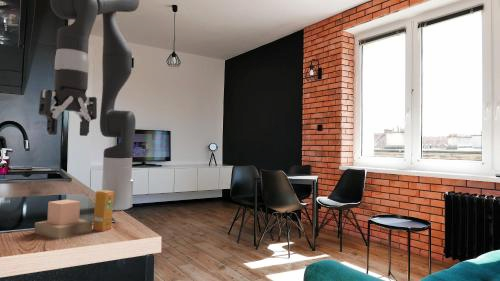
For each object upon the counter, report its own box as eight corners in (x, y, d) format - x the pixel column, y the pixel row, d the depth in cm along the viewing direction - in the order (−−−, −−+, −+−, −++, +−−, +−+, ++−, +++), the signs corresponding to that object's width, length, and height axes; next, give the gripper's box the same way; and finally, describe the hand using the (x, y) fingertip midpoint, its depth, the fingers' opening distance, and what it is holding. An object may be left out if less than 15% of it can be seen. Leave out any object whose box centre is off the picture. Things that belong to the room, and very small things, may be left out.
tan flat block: (68, 228, 93) (68, 216, 93) (91, 233, 89) (92, 221, 89) (34, 235, 85) (34, 222, 85) (58, 241, 81) (59, 228, 81)
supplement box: (103, 231, 89) (105, 192, 89) (92, 230, 90) (94, 191, 90) (112, 228, 92) (114, 190, 92) (101, 227, 93) (103, 189, 93)
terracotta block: (66, 218, 90) (67, 199, 90) (79, 221, 88) (80, 201, 88) (47, 222, 86) (48, 201, 86) (60, 225, 83) (61, 204, 83)
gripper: (85, 76, 96) (83, 135, 95) (34, 65, 83) (30, 133, 83) (105, 75, 92) (102, 136, 92) (54, 63, 79) (51, 134, 79)
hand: (68, 135), depth 87 cm, fingers open, 8 cm apart
